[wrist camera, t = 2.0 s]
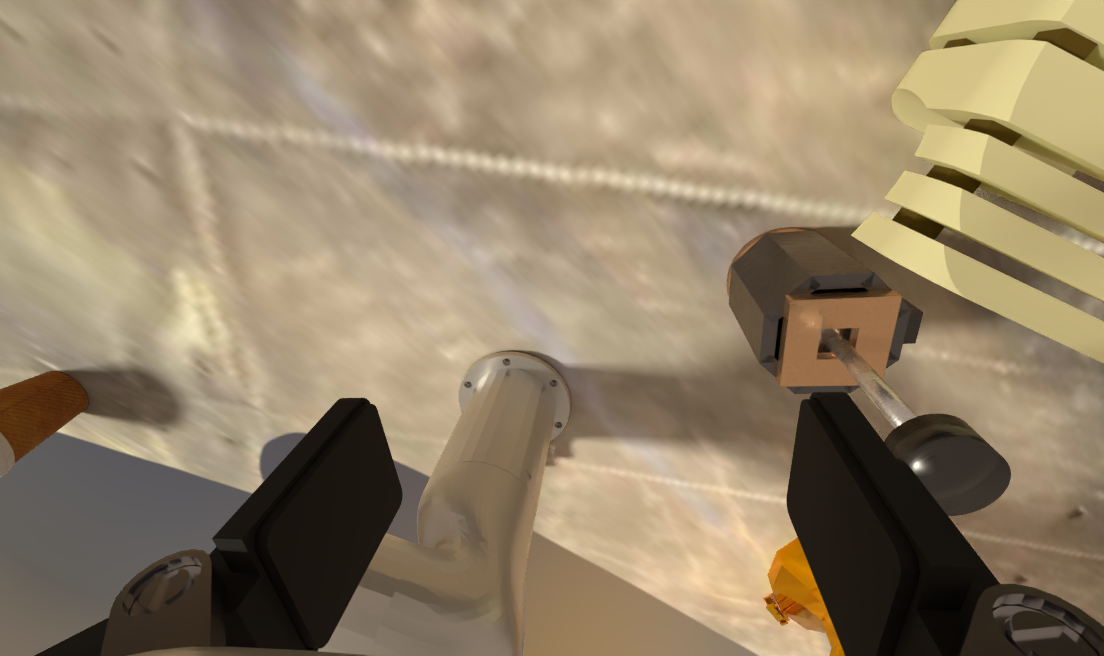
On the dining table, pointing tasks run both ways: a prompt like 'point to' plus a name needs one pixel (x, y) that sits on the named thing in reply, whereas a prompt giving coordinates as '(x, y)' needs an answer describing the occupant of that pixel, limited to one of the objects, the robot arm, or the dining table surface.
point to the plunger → (927, 438)
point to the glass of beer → (36, 413)
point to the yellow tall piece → (799, 594)
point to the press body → (814, 309)
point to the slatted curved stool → (1006, 158)
